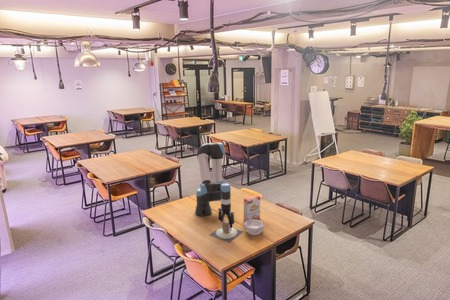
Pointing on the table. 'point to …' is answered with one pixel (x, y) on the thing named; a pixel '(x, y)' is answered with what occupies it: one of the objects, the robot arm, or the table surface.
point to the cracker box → (252, 207)
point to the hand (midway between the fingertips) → (226, 229)
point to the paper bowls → (254, 227)
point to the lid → (226, 231)
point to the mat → (227, 239)
